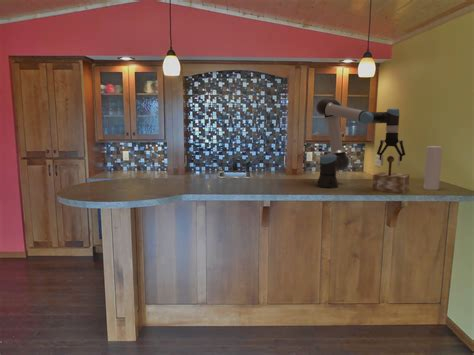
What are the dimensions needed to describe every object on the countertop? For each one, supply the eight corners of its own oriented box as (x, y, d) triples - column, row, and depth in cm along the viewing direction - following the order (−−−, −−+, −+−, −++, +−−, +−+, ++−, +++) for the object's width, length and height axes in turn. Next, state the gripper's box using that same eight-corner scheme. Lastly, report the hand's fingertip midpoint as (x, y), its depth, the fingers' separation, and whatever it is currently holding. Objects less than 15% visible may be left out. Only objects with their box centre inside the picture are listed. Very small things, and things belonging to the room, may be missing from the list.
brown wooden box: (372, 190, 239) (372, 176, 237) (378, 186, 252) (379, 173, 250) (403, 193, 227) (404, 178, 225) (408, 189, 240) (409, 175, 238)
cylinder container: (430, 190, 238) (433, 146, 233) (420, 187, 247) (423, 145, 242) (442, 189, 239) (445, 146, 235) (432, 187, 248) (435, 145, 244)
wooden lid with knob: (372, 175, 237) (373, 155, 235) (379, 173, 250) (380, 153, 248) (404, 178, 225) (406, 157, 223) (409, 175, 238) (410, 155, 236)
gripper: (372, 132, 233) (371, 165, 236) (409, 132, 220) (407, 167, 223) (375, 131, 239) (374, 163, 242) (412, 132, 226) (409, 165, 229)
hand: (390, 165), depth 233 cm, fingers open, 10 cm apart
